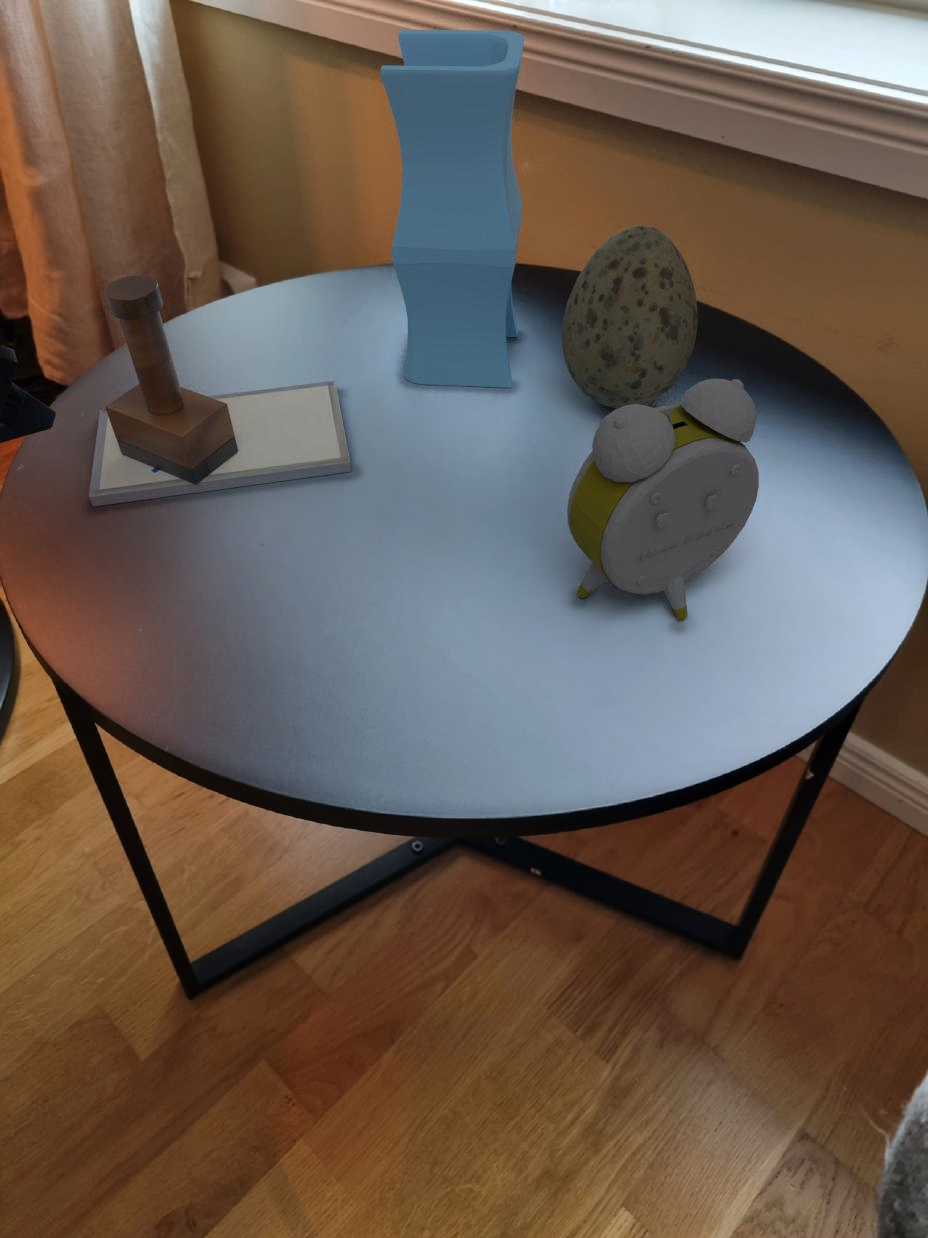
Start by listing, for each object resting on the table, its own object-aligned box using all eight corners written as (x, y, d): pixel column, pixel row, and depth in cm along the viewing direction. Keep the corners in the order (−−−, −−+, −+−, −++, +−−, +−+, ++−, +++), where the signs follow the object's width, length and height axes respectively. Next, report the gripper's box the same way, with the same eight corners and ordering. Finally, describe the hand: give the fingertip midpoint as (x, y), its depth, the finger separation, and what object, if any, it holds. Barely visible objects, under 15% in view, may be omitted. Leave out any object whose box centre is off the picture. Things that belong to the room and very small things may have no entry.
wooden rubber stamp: (196, 485, 71) (147, 316, 61) (121, 454, 74) (63, 288, 64) (238, 451, 74) (199, 285, 63) (165, 422, 77) (116, 259, 66)
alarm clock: (693, 535, 67) (733, 351, 56) (753, 593, 63) (809, 406, 52) (556, 587, 64) (570, 401, 53) (609, 653, 60) (637, 465, 49)
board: (92, 507, 71) (88, 496, 70) (103, 418, 79) (99, 408, 78) (351, 471, 73) (350, 461, 72) (336, 389, 81) (335, 379, 81)
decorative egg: (655, 450, 74) (684, 272, 64) (536, 414, 78) (544, 240, 67) (700, 385, 81) (734, 213, 70) (588, 355, 85) (603, 187, 74)
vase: (416, 327, 89) (398, 28, 70) (518, 331, 88) (526, 30, 70) (401, 383, 82) (378, 69, 64) (511, 388, 81) (519, 70, 63)
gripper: (-106, 175, 38) (152, 309, 53) (-347, 105, 45) (-60, 240, 59) (-181, 430, 39) (92, 492, 54) (-405, 324, 46) (-109, 404, 61)
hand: (0, 398), depth 57 cm, fingers open, 9 cm apart
